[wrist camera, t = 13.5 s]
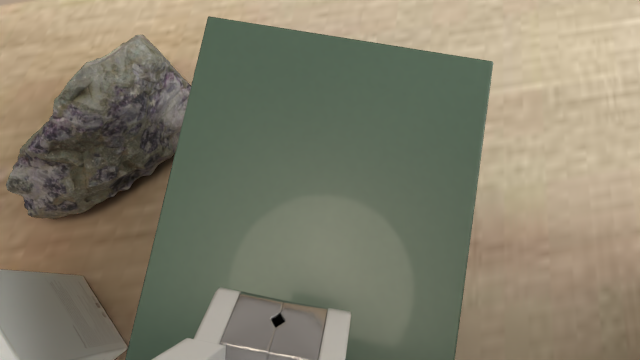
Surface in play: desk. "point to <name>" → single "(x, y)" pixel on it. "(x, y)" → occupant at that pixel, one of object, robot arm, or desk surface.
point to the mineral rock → (103, 132)
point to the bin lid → (321, 188)
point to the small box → (53, 319)
